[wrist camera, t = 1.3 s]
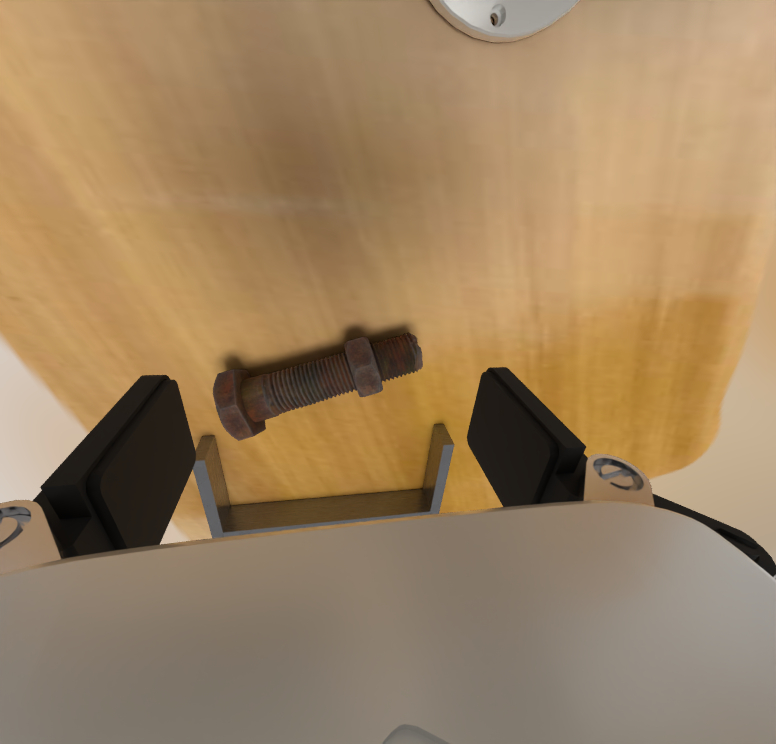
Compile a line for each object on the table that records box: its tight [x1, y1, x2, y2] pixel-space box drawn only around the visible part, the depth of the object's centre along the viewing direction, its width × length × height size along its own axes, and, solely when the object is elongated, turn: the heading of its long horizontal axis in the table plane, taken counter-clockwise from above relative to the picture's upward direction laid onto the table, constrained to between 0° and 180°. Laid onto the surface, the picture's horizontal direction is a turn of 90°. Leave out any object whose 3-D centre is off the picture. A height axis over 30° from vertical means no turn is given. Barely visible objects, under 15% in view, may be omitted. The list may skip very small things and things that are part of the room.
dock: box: [193, 424, 454, 538], centre depth 32 cm, size 10×22×3 cm, turn 86°
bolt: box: [213, 333, 423, 441], centre depth 26 cm, size 6×5×15 cm
